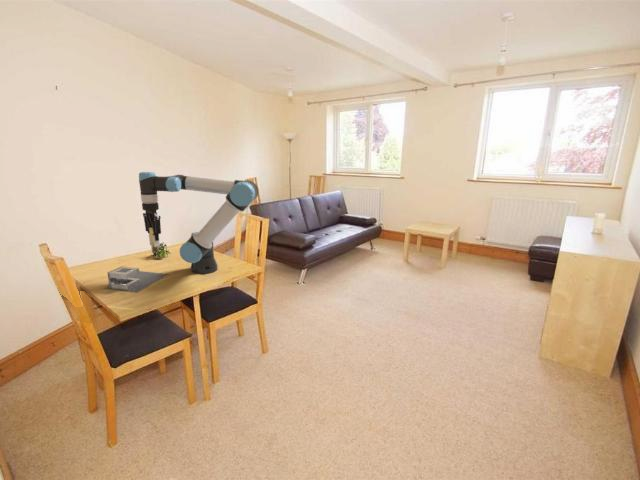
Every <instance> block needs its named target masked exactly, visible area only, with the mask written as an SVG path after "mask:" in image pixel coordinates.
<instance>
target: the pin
mask: <svg viewBox="0 0 640 480" xmlns="http://www.w3.org/2000/svg"><path fill="white" fill-rule="evenodd" d="M149 231H150V240H151V245H150V246H151V247H150V248H151V252H157V251H159V246H157V247H154V242H153V235H152V234H154V233H153V228H152V227H149Z"/></svg>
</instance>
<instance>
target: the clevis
mask: <svg viewBox="0 0 640 480" xmlns="http://www.w3.org/2000/svg"><path fill="white" fill-rule="evenodd" d="M139 271H140V268H139V267H131V266H119V267H116V268H115V269H112V270H110V271H108V272H107V279H108V286H110V288H111V289H120V290H130V289H131V288H133V287H135V286H137V285H139V284H141V280H140V279H136V278H130V277H132V276H134V275H136V274H138V273H139Z"/></svg>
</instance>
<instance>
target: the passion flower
mask: <svg viewBox="0 0 640 480" xmlns="http://www.w3.org/2000/svg"><path fill="white" fill-rule="evenodd" d="M159 243H160V242H159ZM169 250H170V249H167V244H166V243H164V241H163V242H161V243H160V246H159V251H157V252H152V251H151V252H152V253H151V254H152V257H157V260H160V259H163V258H164V257H166V255H167V256H169V255H168V254H171V252H170V251H169Z"/></svg>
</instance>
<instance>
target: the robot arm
mask: <svg viewBox="0 0 640 480" xmlns="http://www.w3.org/2000/svg"><path fill="white" fill-rule="evenodd" d="M138 183H139V188H140V189H139V191H140V200H141V208H142V211H144V212H143V213H142V216H143V220H144V227H145V228H144V229H145V232H147V233H148V239H149V240H148V241H149V245H150V246H151V240H150V231H149V227H152V228H153V233H154V234H152V235H153V242H154V247H157V246H160V237H159V236H160V235H161V233H162V228H161V215H158V212H157V211H158V210H159V209H160V207H159V202H158V201H159V200H158V199H159V195H158V192H168V193H170V192H171V193H173V192H174V193H175V192H180V190H185V191H195V192H202V193H203V192H204V193H210V194H218V195H219V194H220V195H226V196H225V201H224V203H223V204H222V205H221V206H220V207H219V208H218V210H217V211H216V212H215V213H214V214H213V215H212V216H211V218H210V219H208V221H207V222H206V223H205V225H204V226H203V227H202V228H201V229H200V230H199V231H194V232H191V235H190V237H189V238H188V240H187V241H185V242H184V243H182V245H181V246H180V248H179V256H180V257H181V259H182V260H183V261H184V262H186V263H189V264H190V265H191V266H190V271H191V272H192V273H194V274H200V275H206V274H212V273H214V272H216V271H218V268H219V267H218V263H217V261H216V258H215V251H214V241H215V240H216V238H217V237H218V236H220V234H221V233H222V232H223V231H224V230H225V228H226V227H227V226H228V225H229V224H230V223H231V222H232V221H233V219H234V218H235V217H236V216H237V215H238V213H239V212H245V210H246V209H247V208H248V207H249V206H250V205H251V203H252V202H254V201H255V200H256V199H257V198H258V196H259V188H258V185H257V184H256V183H255V182H253V181H252V180H247V179H246V180H240V179H239V180H238V179H235V180H234V181H232V180H223V179H222V180H221V179H214V178H208V177H207V178H206V177H198V176H197V177H196V176H189V175H188V176H187V175H184V174H175V175H169V176H159V175H157V176H156V173H155V172H154V171H141V172H139V173H138Z"/></svg>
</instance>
